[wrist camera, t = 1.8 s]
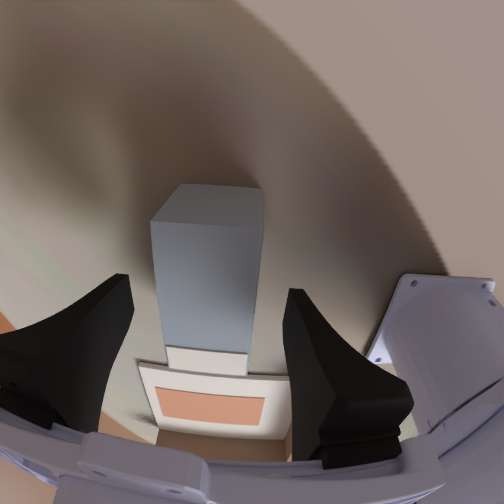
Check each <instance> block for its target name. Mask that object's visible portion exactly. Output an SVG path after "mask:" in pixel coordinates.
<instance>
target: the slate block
mask: <svg viewBox="0 0 504 504" xmlns="http://www.w3.org/2000/svg"><path fill="white" fill-rule="evenodd" d="M150 227H151V240H152V252H153V263H154V273H155V282H156V290H157V298H158V306H159V313H160V320H161V327H162V333H163V340H164V346H165V352H166V357H167V363H168V368H169V369H176V370H183V371H191V372H200V373H210V374H221V375H233V376H247V373H248V365H249V357H250V348H251V340H252V331H253V322H254V314H255V305H256V296H257V287H258V278H259V269H260V260H261V251H262V242H263V233H264V222H263V206H262V190H261V188H251V187H238V186H223V185H206V184H186V183H181V184H180V185H179V186H178V188H177V189H176V190H175V191H174V192H173V194H172V195H171V196H170V197H169V198H168V200H167V201H166V202H165V203H164V204H163V206H162V207H161V208H160V209H159V211H158V212H157V213H156V214H155V216H154V217H153V218H152V219H151V221H150Z"/></svg>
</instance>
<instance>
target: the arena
mask: <svg viewBox="0 0 504 504" xmlns="http://www.w3.org/2000/svg"><path fill="white" fill-rule="evenodd" d="M139 370H140V373H141V377H142V380H143V383H144V386H145V389H146V393H147V396H148V399H149V402H150V405H151V408H152V410H153V413H154V416H155V419H156V422H157V424H158V427H159V432H158V437H157V441H156V445H157V446H163V447H169V448H174V449H179V450H183V451H187V452H190V453H192V454H195V455H197V456H200V457H201V458H205V459H215V460H228V461H247V462H292V406H291V388H290V381H289V376H272V375H251V374H247V376H233V375H221V374H210V373H200V372H191V371H183V370H176V369H169V368H168V366H163V365H157V364H150V363H144V362H140V364H139Z"/></svg>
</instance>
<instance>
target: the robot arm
mask: <svg viewBox="0 0 504 504" xmlns="http://www.w3.org/2000/svg"><path fill="white" fill-rule="evenodd" d="M414 280H415V281H414ZM412 281H414V282H413V283H411V282H412ZM494 287H495V281H494V280H493V279H491V278H473V277H456V276H439V275H423V274H404V275H403V276H402V277H401V278H400V279H399V282H398V284H397V287H396V290H395V292H394V295H393V297H392V300H391V302H390V304H389V307H388V309H387V312H386V314H385V316H384V319H383V321H382V323H381V325H380V328H379V330H378V332H377V334H376V336H375V339H374V341H373V343H372V345H371V347H370V349H369V351H368V353H367V355H366V357H364V356H363V355H361V354H360V353H359V352H357V351H356V350H355V349H354V348H353V347H351V346H350V345H349V344H348V343H347V342H346V341H345V340H344V339H343V338H342V337H341V336H340V335H339V334H338V333H337V332H336V331H335V330H334V329H333V328H332V327H331V325H330V324H329V323H328V322H327V321H326V319H325V318H324V317H323V316H322V314H321V313H320V312H319V310H318V309H317V308H316V306H315V305H314V304H313V302H312V301H311V299H310V298H309V297H308V295H307V294H306V292H305V291H304V290H303V289H294V288H289V293H288V298H287V303H286V308H285V313H284V318H283V323H282V324H283V344H284V351H285V357H286V363H287V369H288V375H289V381H290V388H291V406H292V462H247V461H228V460H215V459H205V458H201V457H200V456H197V455H195V454H192V453H190V452H187V451H183V450H179V449H174V448H169V447H163V446H157V445H152V444H147V443H142V442H137V441H133V440H129V439H124V438H120V437H116V436H112V435H109V434H105V433H99V432H98V425H99V418H100V413H101V407H102V402H103V398H104V393H105V389H106V385H107V381H108V378H109V374H110V371H111V368H112V366H113V363H114V361H115V359H116V356H117V354H118V352H119V349H120V347H121V345H122V343H123V341H124V338H125V336H126V334H127V332H128V329H129V327H130V323H131V320H132V317H133V313H134V310H135V309H134V304H133V299H132V293H131V287H130V281H129V275H127V274H118V273H116V274H115V275H113V276H112V277H110V278H109V279H107V280H106V281H105V282H103V283H102V284H100V285H99V286H98V287H96V288H95V289H93V290H92V291H91V292H89V293H88V294H87V295H85V296H84V297H82V298H81V299H79V300H78V301H76V302H75V303H73V304H72V305H70V306H69V307H67V308H65V309H64V310H62V311H60V312H58V313H56V314H55V315H53V316H51V317H48V318H46V319H44V320H42V321H40V322H37V323H35V324H33V325H30V326H27V327H25V328H22V329H19V330H15V331H12V332H8V333H3V334H0V456H1V457H2V458H4V459H6V460H7V461H9V462H10V463H12V464H14V465H15V466H17V467H19V468H21V469H22V470H24V471H26V472H28V473H29V474H31V475H33V476H35V477H37V478H38V479H40V480H42V481H44V482H46V483H48V484H50V485H52V486H54V487H56V488H57V490H56V494H55V497H54V501H53V504H504V307H503V306H502V305H501V304H500V302H499V301H498V300H497V299H496V298H495V296H494V295H493V294H492V291H493V289H494ZM384 363H393V366H394V368H395V371H396V373H397V376H398V377H396V376H394V375H392V374H390V373H388V372H387V371H385V370H383V369H382V368H380V367H378V366H377V365H375V364H384ZM410 412H411V413H412V416H413V419H414V422H415V425H416V428H417V431H418V434H419V436H417V437H413V438H409V439H406V440H404V441H402V442H399V439H398V436H399V435H400V434H401V431H400V428H399V425H400V424H401V423H402V422H403V420H404V419H405V418H406V417H407V416H408V415H409V413H410Z"/></svg>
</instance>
